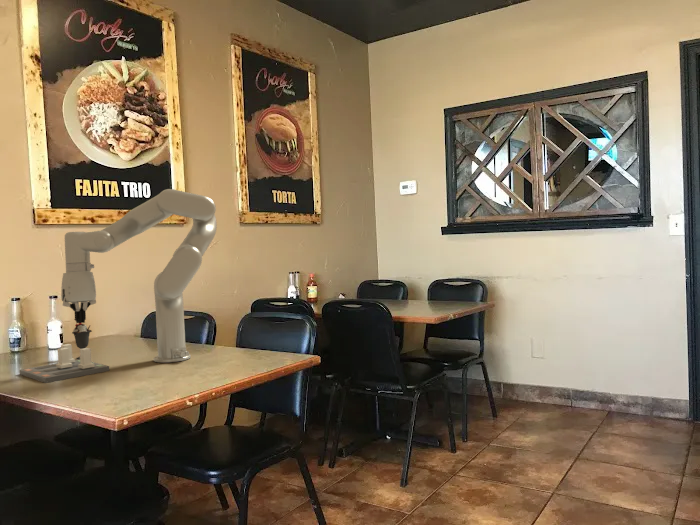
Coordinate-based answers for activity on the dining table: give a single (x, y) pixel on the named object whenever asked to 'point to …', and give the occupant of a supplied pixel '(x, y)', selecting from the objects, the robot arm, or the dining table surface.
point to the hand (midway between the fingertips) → (80, 322)
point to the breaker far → (69, 351)
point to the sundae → (81, 335)
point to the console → (61, 371)
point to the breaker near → (85, 358)
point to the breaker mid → (63, 358)
